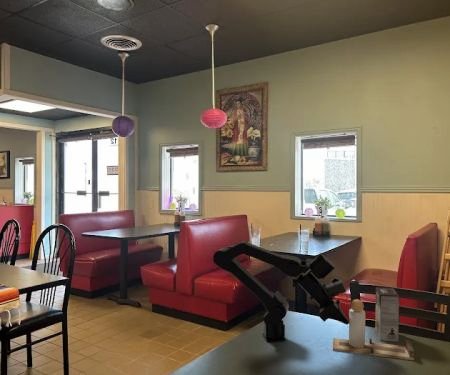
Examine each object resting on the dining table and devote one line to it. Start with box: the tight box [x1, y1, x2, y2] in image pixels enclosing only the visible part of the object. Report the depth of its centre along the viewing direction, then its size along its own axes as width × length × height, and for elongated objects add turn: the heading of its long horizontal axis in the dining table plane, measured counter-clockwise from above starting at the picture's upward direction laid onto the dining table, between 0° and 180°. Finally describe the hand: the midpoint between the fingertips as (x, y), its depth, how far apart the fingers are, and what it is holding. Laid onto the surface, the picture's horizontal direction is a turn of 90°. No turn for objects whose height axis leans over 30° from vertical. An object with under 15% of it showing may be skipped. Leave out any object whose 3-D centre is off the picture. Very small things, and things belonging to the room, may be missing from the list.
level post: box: [348, 298, 366, 348], centre depth 127 cm, size 5×5×15 cm
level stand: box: [332, 337, 415, 361], centre depth 126 cm, size 24×9×3 cm, turn 73°
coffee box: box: [374, 286, 400, 342], centre depth 136 cm, size 9×6×16 cm
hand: (348, 323), depth 128 cm, fingers closed, pressing on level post
